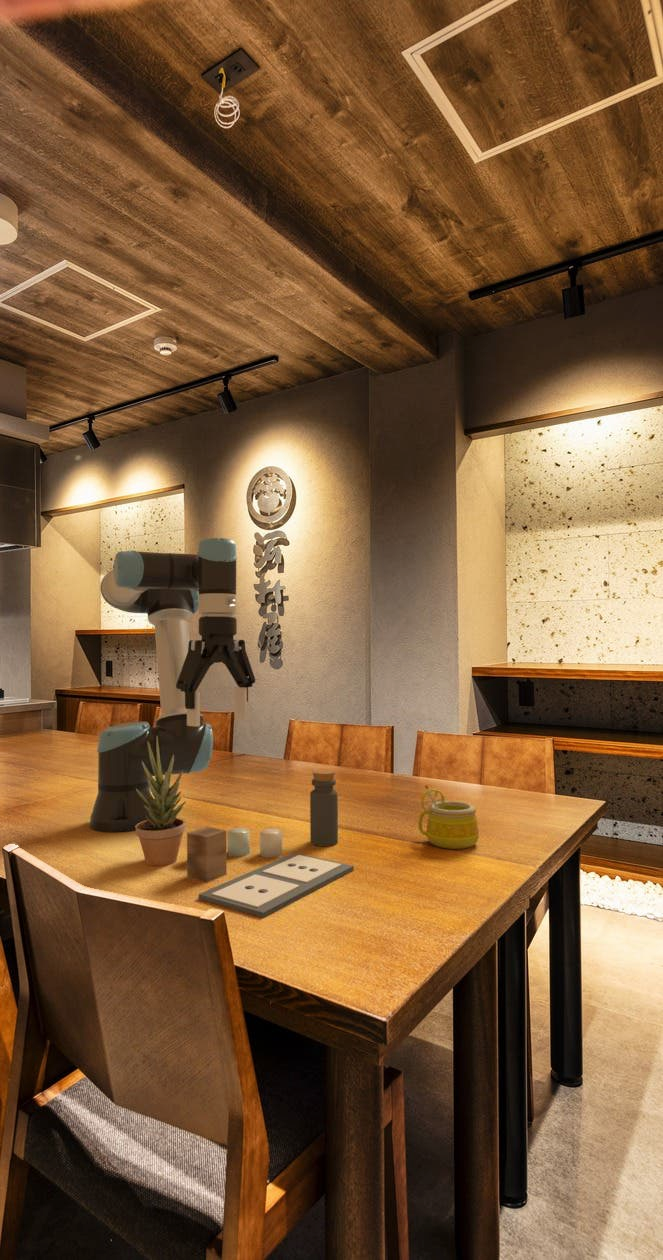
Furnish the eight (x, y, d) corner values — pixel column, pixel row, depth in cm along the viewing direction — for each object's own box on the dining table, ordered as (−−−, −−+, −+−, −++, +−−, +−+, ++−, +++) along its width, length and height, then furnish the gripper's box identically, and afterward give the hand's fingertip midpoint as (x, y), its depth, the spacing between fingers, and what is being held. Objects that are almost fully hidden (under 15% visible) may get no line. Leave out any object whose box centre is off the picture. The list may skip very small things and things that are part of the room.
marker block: (187, 877, 123) (187, 832, 123) (206, 869, 127) (206, 826, 128) (207, 882, 120) (206, 837, 121) (226, 874, 125) (226, 830, 125)
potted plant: (132, 857, 135) (132, 733, 135) (180, 850, 139) (180, 730, 139) (139, 872, 126) (138, 739, 126) (190, 865, 129) (190, 736, 130)
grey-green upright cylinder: (223, 854, 136) (223, 831, 136) (237, 848, 140) (237, 826, 140) (239, 858, 134) (239, 835, 134) (254, 852, 138) (254, 829, 138)
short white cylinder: (255, 855, 135) (255, 832, 136) (269, 849, 139) (269, 827, 139) (272, 859, 133) (272, 836, 133) (286, 853, 137) (286, 830, 137)
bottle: (335, 847, 140) (334, 774, 140) (307, 845, 141) (307, 773, 142) (340, 839, 146) (339, 769, 146) (313, 837, 147) (313, 768, 147)
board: (198, 898, 113) (198, 892, 113) (294, 856, 134) (293, 851, 134) (263, 917, 105) (263, 910, 105) (353, 870, 126) (353, 864, 126)
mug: (484, 839, 145) (483, 783, 145) (472, 854, 135) (471, 794, 135) (426, 833, 150) (425, 778, 150) (410, 846, 140) (410, 788, 140)
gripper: (185, 613, 123) (185, 730, 123) (271, 617, 144) (272, 717, 144) (156, 614, 127) (157, 727, 127) (244, 617, 148) (245, 715, 148)
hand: (218, 722), depth 135 cm, fingers open, 13 cm apart
